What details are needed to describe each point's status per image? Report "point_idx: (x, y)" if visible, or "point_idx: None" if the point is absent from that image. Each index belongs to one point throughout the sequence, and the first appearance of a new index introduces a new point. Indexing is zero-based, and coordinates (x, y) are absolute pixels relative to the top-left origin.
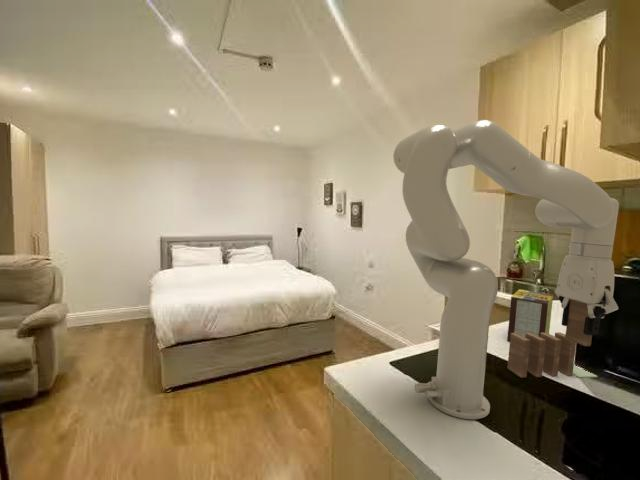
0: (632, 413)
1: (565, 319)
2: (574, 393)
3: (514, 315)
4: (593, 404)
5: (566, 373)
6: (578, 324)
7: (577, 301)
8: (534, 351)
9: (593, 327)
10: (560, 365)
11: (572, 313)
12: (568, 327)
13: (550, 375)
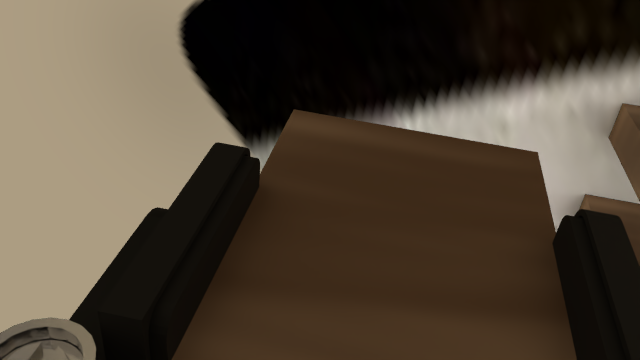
0: (243, 134)
1: (581, 276)
2: (437, 43)
3: None
4: (330, 33)
5: (593, 203)
6: (368, 262)
7: None
8: None
9: (130, 246)
10: None
11: None
12: (521, 225)
13: (634, 105)
